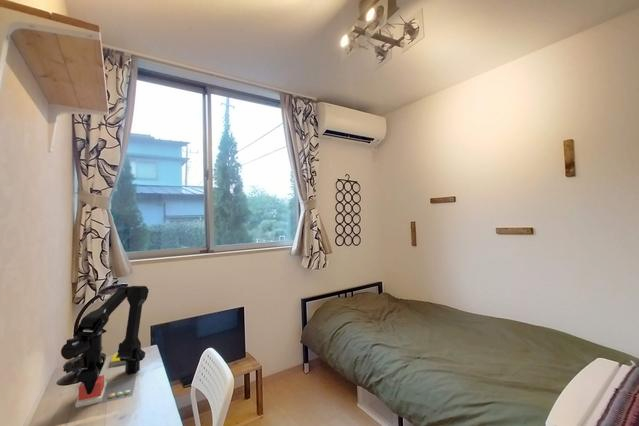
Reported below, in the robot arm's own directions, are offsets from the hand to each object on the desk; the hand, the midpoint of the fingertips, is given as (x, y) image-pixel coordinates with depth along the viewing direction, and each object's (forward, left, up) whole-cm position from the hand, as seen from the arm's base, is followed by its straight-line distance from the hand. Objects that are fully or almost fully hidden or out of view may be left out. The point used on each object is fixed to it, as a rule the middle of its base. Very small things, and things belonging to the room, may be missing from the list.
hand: (91, 388), depth 115 cm
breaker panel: (-2, +4, -5) cm, 7 cm away
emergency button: (-35, +7, -5) cm, 36 cm away
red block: (0, 0, -2) cm, 2 cm away
